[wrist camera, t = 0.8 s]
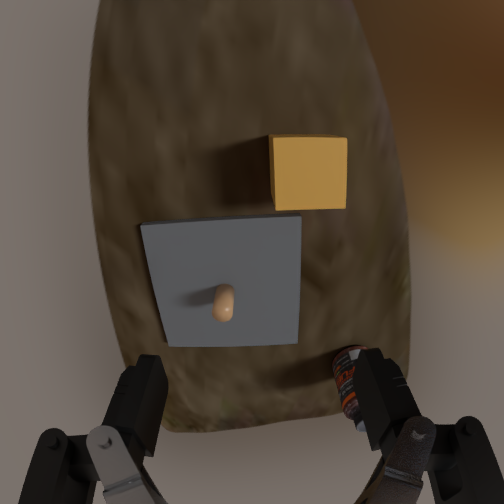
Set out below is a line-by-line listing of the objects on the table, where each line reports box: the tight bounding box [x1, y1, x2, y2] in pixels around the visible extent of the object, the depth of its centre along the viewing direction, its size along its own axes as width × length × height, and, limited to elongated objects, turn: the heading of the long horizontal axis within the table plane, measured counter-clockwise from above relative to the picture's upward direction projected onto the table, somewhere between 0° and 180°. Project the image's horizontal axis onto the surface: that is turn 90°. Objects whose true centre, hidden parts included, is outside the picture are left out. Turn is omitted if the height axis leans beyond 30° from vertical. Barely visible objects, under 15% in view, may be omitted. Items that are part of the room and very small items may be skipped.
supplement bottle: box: [332, 346, 368, 432], centre depth 33 cm, size 6×6×11 cm
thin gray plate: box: [140, 213, 301, 347], centre depth 30 cm, size 16×16×5 cm
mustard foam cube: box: [269, 134, 347, 210], centre depth 24 cm, size 6×6×6 cm
